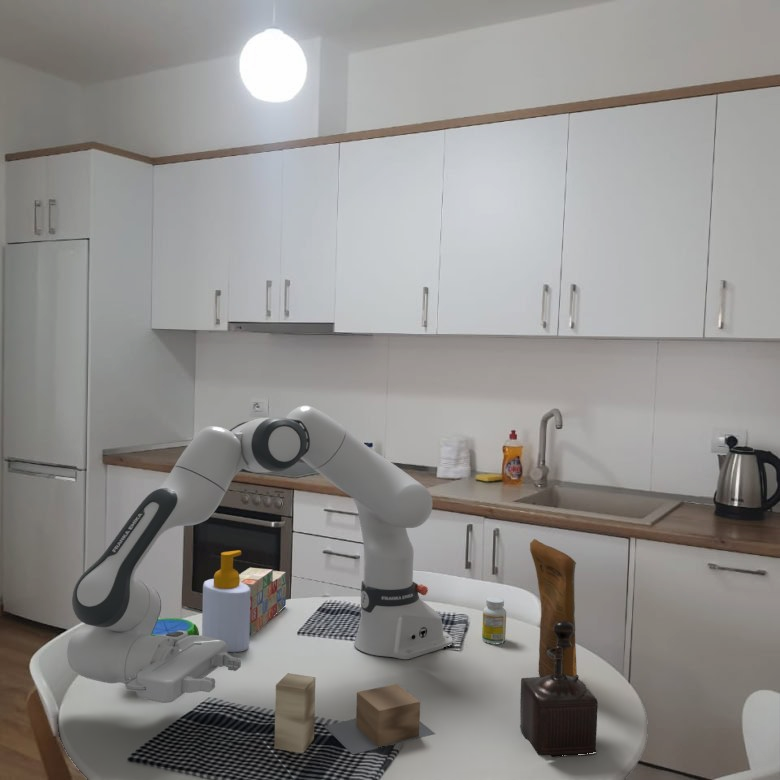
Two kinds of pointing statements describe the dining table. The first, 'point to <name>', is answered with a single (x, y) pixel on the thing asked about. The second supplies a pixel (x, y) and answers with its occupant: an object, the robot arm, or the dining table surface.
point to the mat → (363, 736)
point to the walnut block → (387, 714)
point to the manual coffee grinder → (558, 707)
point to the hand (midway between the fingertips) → (226, 674)
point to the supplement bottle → (494, 621)
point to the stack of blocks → (264, 594)
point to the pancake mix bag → (554, 604)
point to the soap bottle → (227, 606)
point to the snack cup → (174, 626)
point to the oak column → (294, 712)
